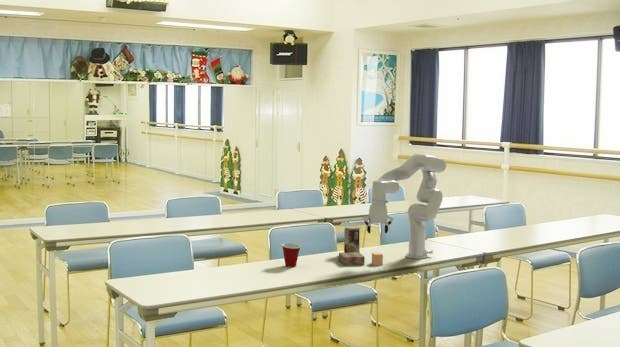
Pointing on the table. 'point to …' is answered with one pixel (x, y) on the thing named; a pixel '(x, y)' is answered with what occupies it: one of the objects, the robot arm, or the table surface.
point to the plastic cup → (290, 254)
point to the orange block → (377, 258)
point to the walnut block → (351, 258)
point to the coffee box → (351, 240)
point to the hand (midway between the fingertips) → (377, 232)
